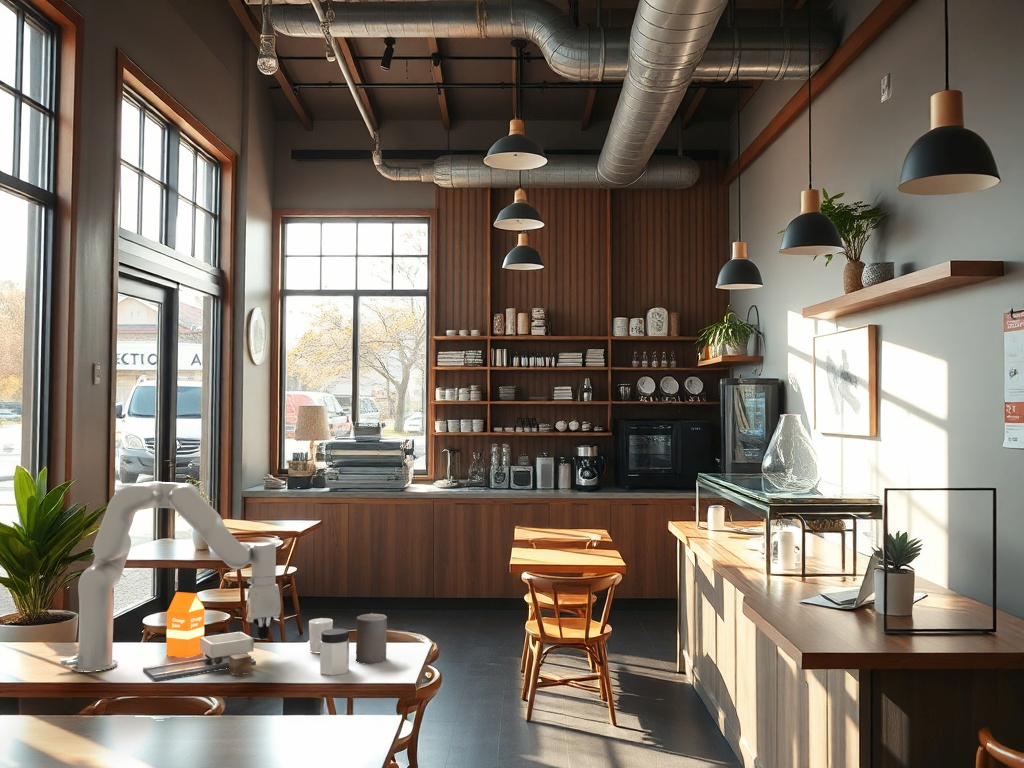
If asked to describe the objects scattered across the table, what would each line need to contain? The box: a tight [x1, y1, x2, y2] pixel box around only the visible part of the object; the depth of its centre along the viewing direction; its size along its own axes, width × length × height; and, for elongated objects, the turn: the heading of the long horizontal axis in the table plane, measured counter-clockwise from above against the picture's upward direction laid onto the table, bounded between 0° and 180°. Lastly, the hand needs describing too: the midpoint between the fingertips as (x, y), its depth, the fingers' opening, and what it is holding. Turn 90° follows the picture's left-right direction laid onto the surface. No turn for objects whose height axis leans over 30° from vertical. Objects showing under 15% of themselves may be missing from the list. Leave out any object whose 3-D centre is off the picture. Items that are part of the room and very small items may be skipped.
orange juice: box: [165, 591, 205, 659], centre depth 274 cm, size 8×9×20 cm
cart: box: [200, 631, 255, 664], centre depth 262 cm, size 13×12×6 cm
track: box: [142, 654, 257, 682], centre depth 257 cm, size 30×14×1 cm, turn 127°
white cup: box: [308, 617, 334, 653], centre depth 276 cm, size 8×8×10 cm
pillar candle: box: [355, 612, 388, 665], centre depth 265 cm, size 10×10×15 cm
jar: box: [319, 628, 350, 677], centre depth 252 cm, size 9×8×12 cm
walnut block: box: [228, 653, 252, 676], centre depth 251 cm, size 5×5×5 cm
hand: (262, 638), depth 269 cm, fingers closed
